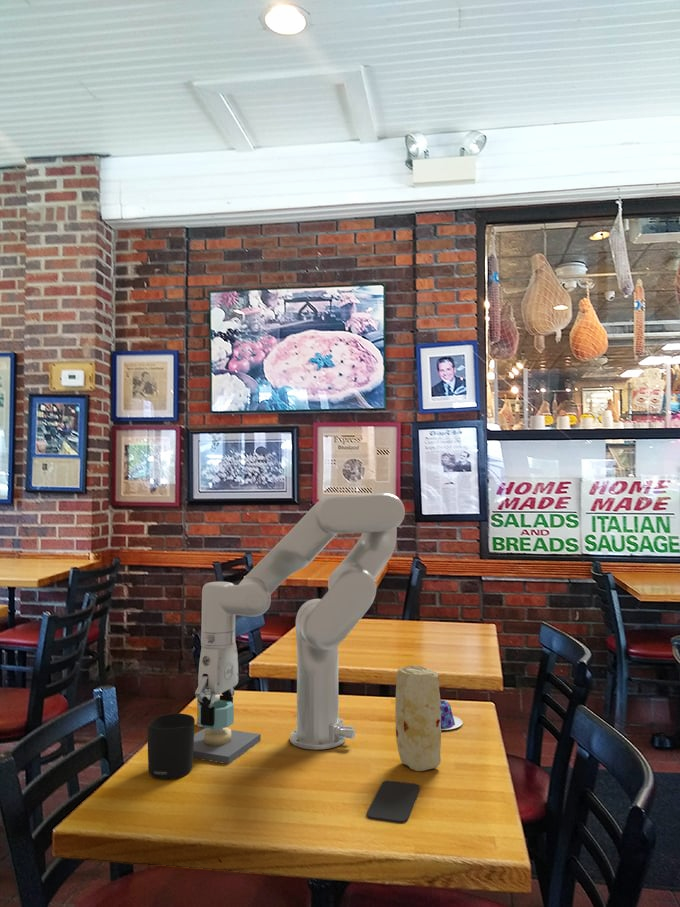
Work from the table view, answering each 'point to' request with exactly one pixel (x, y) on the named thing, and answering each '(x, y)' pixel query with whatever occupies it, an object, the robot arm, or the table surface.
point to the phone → (393, 802)
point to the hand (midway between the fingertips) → (217, 718)
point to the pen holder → (170, 745)
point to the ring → (221, 714)
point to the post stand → (223, 744)
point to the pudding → (448, 717)
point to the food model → (418, 717)
